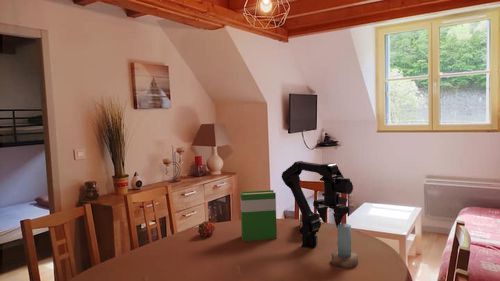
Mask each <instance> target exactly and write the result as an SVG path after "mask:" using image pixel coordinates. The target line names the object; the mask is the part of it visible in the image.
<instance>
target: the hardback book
mask: <svg viewBox="0 0 500 281" xmlns="http://www.w3.org/2000/svg"><path fill="white" fill-rule="evenodd" d="M239 193H240V194H239V198H240V222H241V224H240V225H241V239H242V241H243V242H248V241H249V242H251V241H263V240H277V238H278V230H277V225H278V224H277V200H276V199H277V195H276V194H277V192H274V190H273V189H272V190H270V189H269V190H268V189H267V190H266V189H265V190H252V191H240V192H239Z"/></svg>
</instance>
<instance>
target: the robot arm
mask: <svg viewBox="0 0 500 281" xmlns="http://www.w3.org/2000/svg"><path fill="white" fill-rule="evenodd" d="M285 169H286V168H285ZM303 171H304V172H311V173H316V174H318V175H320V176H321V177H320V179H319V181H322V182H323V192H322V193H321V195H322V197H323V198H320V199H314V200H313V202H312V205H313V207H314V209H315V210H316V213H314V212H313V210H312V208H311V207H310V205H309V203H308V200H307V198H306V196H305V194H304V191H303V189H302V187H301V184H300V182H301V181H300V180H301V178H300V176H301V174H302V173H303ZM281 180H282V181H283V183H284V185H285V186H287V187H288V188H289V189H290V190H291V191H290V192H291V193H292V196H293V197H294V200H295V202H296V204H297V207H298V209H299V212H300V211H301V214H302V224H303V226H302V227H301V228H299V229H298V231H299V235H300V234H302V237H301V239H302V240H301V241H302V243H301V245H300V246H301V248H309V249H315V248H316V247H317V246H318V240H319V239H318V236H317V233H319V231H320V229H321V226H322V223H326V220H327V210H328V209H332V210H333V219H334V222H335V226H336V228H337V229H338V225H339V224H342V220H343V218H344V216H346V215H347V214H350V206H348V205H347V202H348V198H346V197H342V196H340V194H345V195H351V194H352V193H353V190H354V185H353V183H352V181H351V179H350V178H349V177H345V178H344V175H343V174H342V172H341V170H340V169H339V167H338V165H337V163H335V162H331V163H316V162H308V161H303V160H299V161H294V163H292V165H290V166H289V167H287V169H286V170H284V171H283V172H282V173H281ZM310 208H311V209H310ZM311 210H312V211H311ZM320 218H321V219H320Z"/></svg>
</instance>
